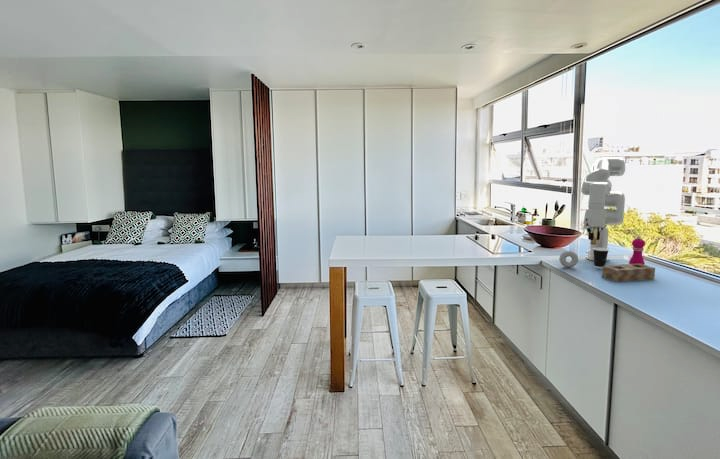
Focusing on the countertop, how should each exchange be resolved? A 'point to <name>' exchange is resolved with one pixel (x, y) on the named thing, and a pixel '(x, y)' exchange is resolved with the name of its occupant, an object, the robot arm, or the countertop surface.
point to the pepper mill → (637, 251)
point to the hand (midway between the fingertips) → (593, 239)
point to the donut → (567, 254)
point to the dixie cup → (600, 257)
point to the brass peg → (594, 241)
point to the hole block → (628, 272)
